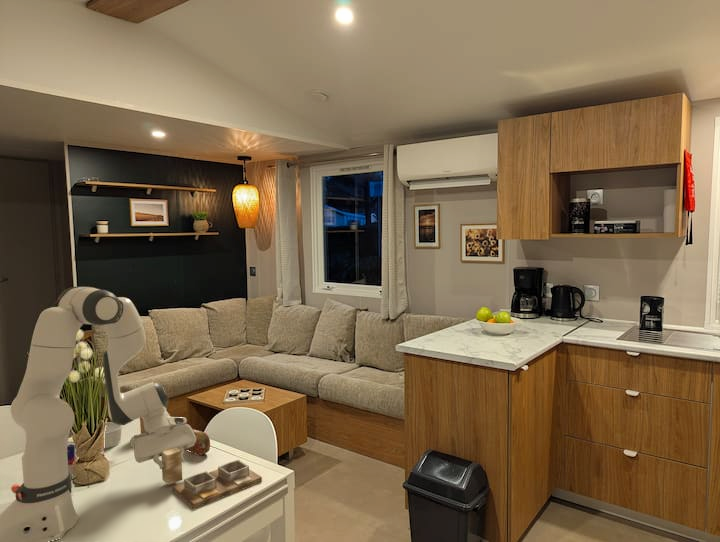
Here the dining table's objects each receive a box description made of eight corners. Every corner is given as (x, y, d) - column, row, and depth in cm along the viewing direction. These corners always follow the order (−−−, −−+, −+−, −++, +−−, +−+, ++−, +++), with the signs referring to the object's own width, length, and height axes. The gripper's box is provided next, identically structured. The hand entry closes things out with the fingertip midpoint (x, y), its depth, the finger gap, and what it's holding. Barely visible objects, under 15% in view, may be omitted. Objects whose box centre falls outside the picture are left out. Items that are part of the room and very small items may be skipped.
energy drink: (70, 482, 173) (67, 448, 172) (56, 480, 174) (54, 447, 174) (81, 474, 179) (79, 441, 178) (68, 473, 180) (66, 440, 179)
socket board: (193, 508, 154) (193, 494, 154) (172, 490, 166) (171, 477, 166) (261, 481, 170) (261, 468, 170) (237, 466, 182) (237, 454, 182)
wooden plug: (168, 484, 166) (166, 455, 166) (162, 479, 170) (161, 451, 169) (182, 479, 170) (181, 450, 169) (176, 475, 173) (175, 446, 173)
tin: (180, 449, 198) (179, 428, 198) (187, 446, 201) (186, 425, 200) (205, 458, 190) (204, 436, 189) (212, 454, 192) (211, 433, 192)
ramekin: (116, 435, 214) (115, 419, 214) (127, 444, 205) (126, 427, 204) (82, 445, 205) (80, 428, 204) (92, 454, 195) (91, 437, 195)
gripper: (130, 432, 167) (142, 470, 160) (190, 416, 181) (203, 451, 174) (126, 441, 170) (138, 479, 164) (185, 425, 184) (198, 459, 178)
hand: (172, 464), depth 169 cm, fingers closed on wooden plug, 5 cm apart
